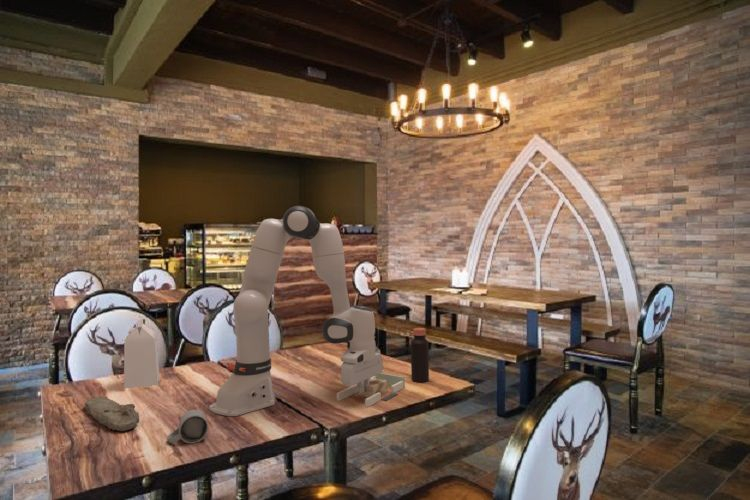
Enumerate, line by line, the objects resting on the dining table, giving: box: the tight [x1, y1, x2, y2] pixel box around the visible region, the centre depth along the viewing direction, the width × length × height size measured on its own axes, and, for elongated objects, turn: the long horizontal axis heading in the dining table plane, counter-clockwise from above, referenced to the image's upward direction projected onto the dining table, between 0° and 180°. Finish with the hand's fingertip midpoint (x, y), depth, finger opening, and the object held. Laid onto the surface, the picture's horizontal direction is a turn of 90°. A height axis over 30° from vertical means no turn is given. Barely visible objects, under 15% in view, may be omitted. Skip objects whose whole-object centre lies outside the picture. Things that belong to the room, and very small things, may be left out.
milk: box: [123, 316, 160, 390], centre depth 186 cm, size 12×12×26 cm
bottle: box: [410, 327, 430, 383], centre depth 186 cm, size 7×7×20 cm
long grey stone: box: [84, 396, 140, 432], centre depth 153 cm, size 35×5×10 cm
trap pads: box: [380, 392, 399, 402], centre depth 173 cm, size 12×17×1 cm
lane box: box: [336, 372, 406, 408], centre depth 171 cm, size 24×13×4 cm, turn 146°
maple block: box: [358, 378, 388, 398], centre depth 171 cm, size 9×6×4 cm, turn 145°
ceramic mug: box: [166, 409, 209, 444], centre depth 135 cm, size 11×8×8 cm
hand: (363, 391), depth 166 cm, fingers closed
